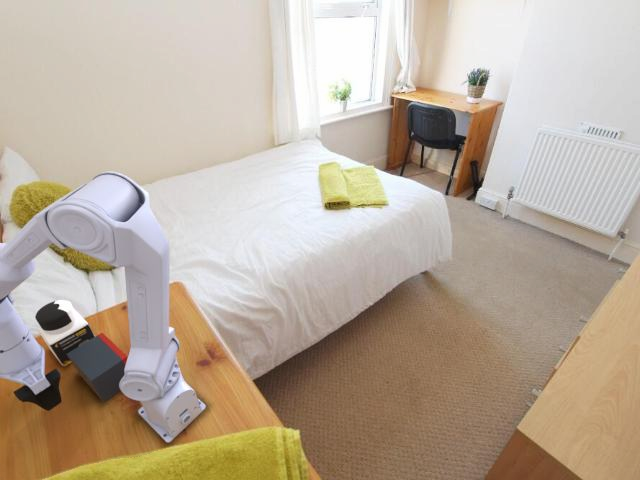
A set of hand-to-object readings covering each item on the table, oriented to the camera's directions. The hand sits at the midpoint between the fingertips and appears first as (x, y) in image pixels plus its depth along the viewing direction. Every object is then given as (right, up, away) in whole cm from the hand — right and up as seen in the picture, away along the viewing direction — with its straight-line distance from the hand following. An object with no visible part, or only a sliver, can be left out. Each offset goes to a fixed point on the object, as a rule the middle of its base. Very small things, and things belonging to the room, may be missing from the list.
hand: (45, 393), depth 58 cm
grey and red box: (+3, +1, +5) cm, 6 cm away
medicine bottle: (-6, +3, +15) cm, 16 cm away
